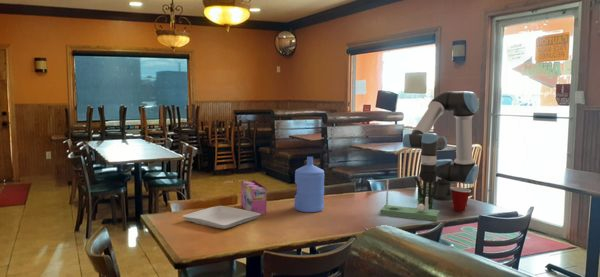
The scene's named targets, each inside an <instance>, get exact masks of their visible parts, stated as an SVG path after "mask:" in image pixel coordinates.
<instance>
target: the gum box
mask: <svg viewBox="0 0 600 277" xmlns="http://www.w3.org/2000/svg"><path fill="white" fill-rule="evenodd" d="M240 183H241V186H240V187H241V188H240V206H241V207H243V209H244V210H247V211H251V212H256V213H260V214H261V215H267V202H268V201H267V200H268V199H267V196H268V195H267V193H268V192H267V191H268V189H267V187H265V186H264V185H263V184H261V183H259V182H257V181H256V180H251V181H244V180H241V182H240ZM261 215H260V216H261Z"/></svg>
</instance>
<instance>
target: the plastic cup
mask: <svg viewBox="0 0 600 277" xmlns="http://www.w3.org/2000/svg"><path fill="white" fill-rule="evenodd" d="M450 189H451V194H452V199H451V200H452V201H451V202H452V207H453V210H454V212H458V213H459V212H462V213H463V212H465V211H466V208H467V204H468V200H469V196H470V193H471V192H472V190H471V189H469V188H464V187H458V186H451V188H450Z"/></svg>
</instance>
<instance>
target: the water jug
mask: <svg viewBox="0 0 600 277" xmlns="http://www.w3.org/2000/svg"><path fill="white" fill-rule="evenodd" d="M294 172H295V174H294V183H295V184H296V194H295V195H294V205H293V207H294V209H295V210H296V211H298V212H303V213H318V212H321V211H323V210H324V207H325V203H324V198H325V171H324V169H322V168H320V167H318V166H316V165H314V156H307V157H306V165H302V166H301V167H299V168H297V169H296V170H294Z"/></svg>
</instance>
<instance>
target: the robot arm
mask: <svg viewBox="0 0 600 277" xmlns="http://www.w3.org/2000/svg"><path fill="white" fill-rule="evenodd" d="M478 110H479V100H478V96H477V94H476V93H475V92H474V91H466V90H464V91H463V90H461V91H460V90H458V91H457V90H456V91H454V90H452V91H450V90H449V91H443V92H441V93H439V94H438V95H436V96H435V97H433V99H431V101H429V103H428V105H427V110H426V111H425V113H424V114H423V115H422V117H421V118H420V120H419V122H418V123H417V124H416V125H415V128H414V129H413V130H412V132H411V133H405V134H404V135H403V137H402V145H403V146H404V147H405V148H408V149H416V150H417V149H418V150H421V151H420V156H421V157H420V163H421V164H420V170H419V171H420V172H419V174H418V175H417V176H415V177H414V180H415V182H416V184H417V185H416V186H417V192H418V191H419V195H420V196H422V197H423V203H424V204H425V211H428V209H429V208H428V206H429V204H430V203H431V197H433V200H437V201H439V200H441V201H451V200H452V194H451V189H450V188H451V187H452V183H457V184H458V183H459V184H464V185H472V184H475V183H476V181H477V178H478V176H479V172H480V171H479V170H480V169H479V168H480V167H479V165H478V164H476V161H475V159H474V158H473V127H472V126H473V125H472V124H473V123H472V121H473V120H472V118H473V117H474V116H475V113H477V112H478ZM445 112H452V116H453V117H454V118H455V145H456V147H455V148H456V149H455V151H456V152H455V153H456V158H455V159H454V160H453V159H450V158H448V159H447V158H445V159H437V157H438V156H437V155H438V154H437V153H438V151H443V150H444V149H446V148H447V146H448V139H447V138H446V137H445V136H444V135H438V133H434V132H431V130H432V128H433V127H434V125H435V123H436V122H437V120H438V119H439V117H440V116H442V115H443V114H444V113H445ZM421 181H422V183H423V193H422V189H421ZM426 184H429V190H428V197H426ZM432 185H433V194H431V190H432Z"/></svg>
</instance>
